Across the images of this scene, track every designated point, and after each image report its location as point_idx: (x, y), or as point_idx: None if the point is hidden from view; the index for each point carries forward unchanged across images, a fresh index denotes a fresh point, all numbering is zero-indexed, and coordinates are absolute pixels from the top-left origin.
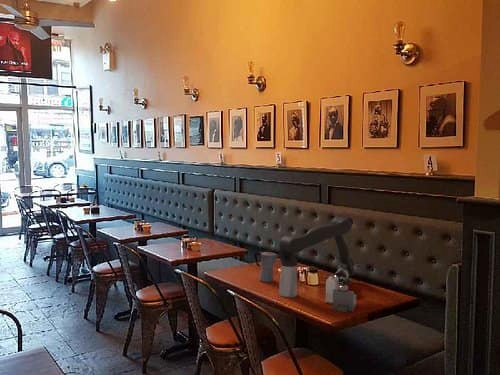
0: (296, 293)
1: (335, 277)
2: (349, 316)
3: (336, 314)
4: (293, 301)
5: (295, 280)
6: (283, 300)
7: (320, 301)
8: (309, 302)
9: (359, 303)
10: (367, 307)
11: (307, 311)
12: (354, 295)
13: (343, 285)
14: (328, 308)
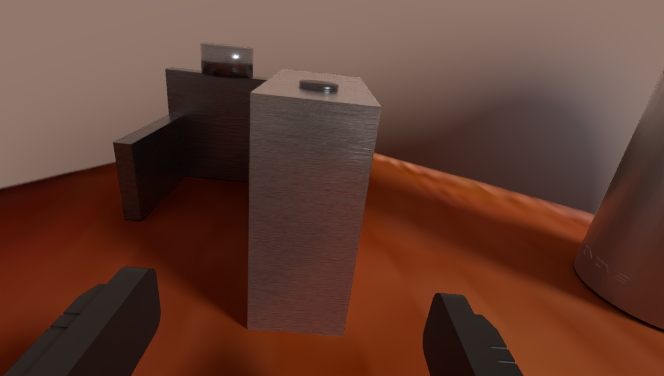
0: (595, 271)
1: (294, 90)
2: None
3: None
4: (504, 217)
5: (631, 155)
6: (555, 220)
7: (373, 239)
8: (423, 219)
9: (62, 257)
10: (44, 211)
11: (374, 161)
12: (137, 135)
13: (226, 46)
14: None
